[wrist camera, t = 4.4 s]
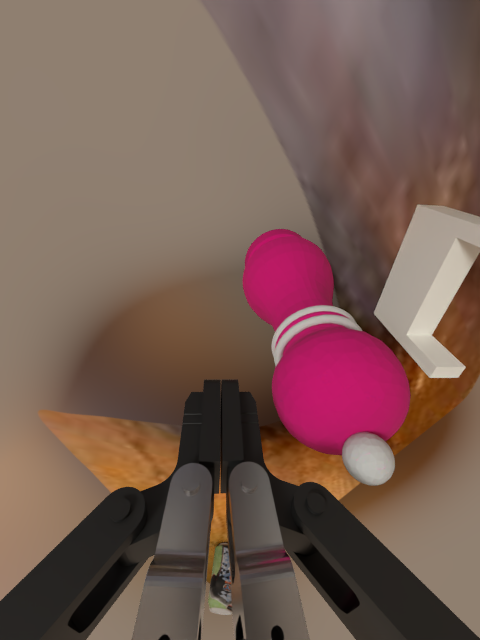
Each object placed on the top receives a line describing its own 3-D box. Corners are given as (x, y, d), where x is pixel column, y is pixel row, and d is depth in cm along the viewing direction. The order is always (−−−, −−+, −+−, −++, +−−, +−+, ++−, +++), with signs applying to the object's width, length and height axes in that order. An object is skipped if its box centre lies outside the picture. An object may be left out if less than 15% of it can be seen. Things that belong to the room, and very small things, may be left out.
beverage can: (240, 547, 70) (243, 614, 60) (212, 550, 70) (211, 618, 60) (236, 538, 66) (239, 609, 56) (207, 542, 66) (205, 613, 56)
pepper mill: (271, 306, 29) (341, 537, 12) (223, 260, 25) (230, 490, 9) (328, 262, 26) (516, 476, 10) (283, 204, 23) (449, 378, 6)
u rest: (417, 204, 24) (519, 238, 15) (444, 205, 24) (558, 240, 16) (373, 313, 30) (429, 377, 22) (394, 313, 30) (458, 377, 22)
